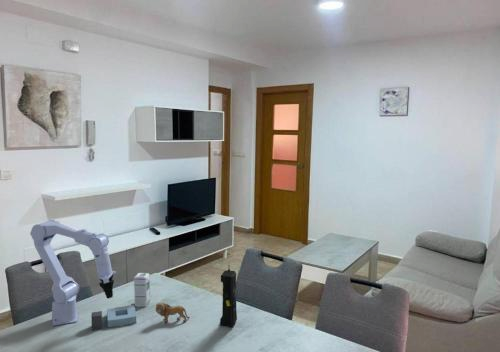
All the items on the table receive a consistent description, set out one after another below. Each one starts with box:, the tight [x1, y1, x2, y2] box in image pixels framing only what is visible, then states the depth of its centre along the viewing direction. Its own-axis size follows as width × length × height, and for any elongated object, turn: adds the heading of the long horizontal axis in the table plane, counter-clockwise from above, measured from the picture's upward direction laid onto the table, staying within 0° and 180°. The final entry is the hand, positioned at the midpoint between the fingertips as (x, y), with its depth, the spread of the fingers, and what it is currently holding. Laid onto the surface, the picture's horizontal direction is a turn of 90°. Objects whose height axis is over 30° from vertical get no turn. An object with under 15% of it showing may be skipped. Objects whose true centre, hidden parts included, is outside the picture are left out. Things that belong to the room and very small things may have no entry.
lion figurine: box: [155, 302, 190, 324], centre depth 167 cm, size 15×5×9 cm, turn 108°
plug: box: [91, 310, 103, 331], centre depth 160 cm, size 4×4×6 cm
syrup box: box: [133, 272, 151, 308], centre depth 182 cm, size 6×6×14 cm
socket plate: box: [106, 304, 137, 328], centre depth 168 cm, size 12×12×3 cm
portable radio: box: [219, 264, 238, 328], centre depth 165 cm, size 8×6×25 cm
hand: (109, 294), depth 161 cm, fingers open, 7 cm apart
